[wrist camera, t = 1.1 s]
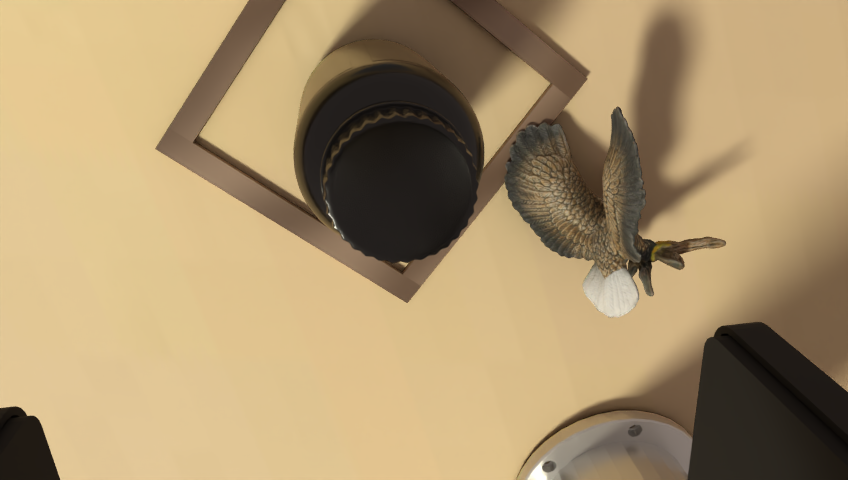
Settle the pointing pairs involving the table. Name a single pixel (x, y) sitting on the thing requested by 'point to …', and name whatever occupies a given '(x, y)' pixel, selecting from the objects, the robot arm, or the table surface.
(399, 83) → the supplement bottle
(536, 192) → the eagle figurine
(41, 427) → the robot arm
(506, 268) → the table surface
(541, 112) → the frame
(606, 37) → the table surface
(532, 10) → the table surface
